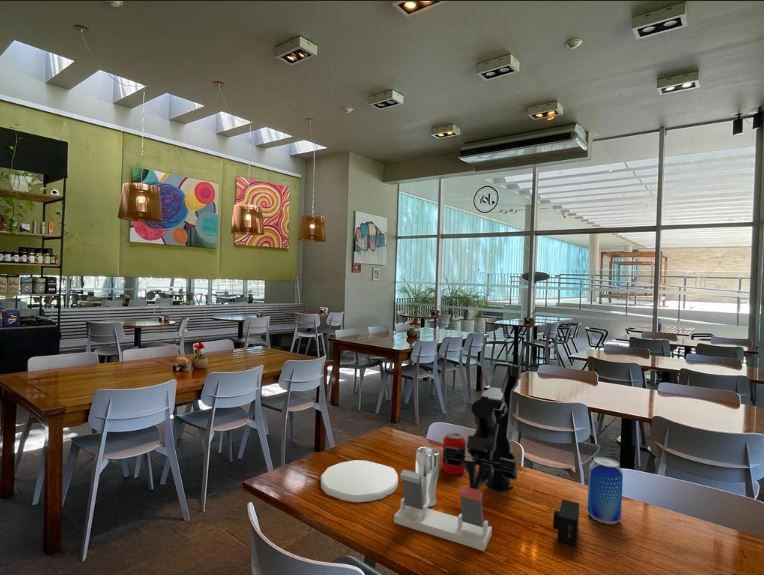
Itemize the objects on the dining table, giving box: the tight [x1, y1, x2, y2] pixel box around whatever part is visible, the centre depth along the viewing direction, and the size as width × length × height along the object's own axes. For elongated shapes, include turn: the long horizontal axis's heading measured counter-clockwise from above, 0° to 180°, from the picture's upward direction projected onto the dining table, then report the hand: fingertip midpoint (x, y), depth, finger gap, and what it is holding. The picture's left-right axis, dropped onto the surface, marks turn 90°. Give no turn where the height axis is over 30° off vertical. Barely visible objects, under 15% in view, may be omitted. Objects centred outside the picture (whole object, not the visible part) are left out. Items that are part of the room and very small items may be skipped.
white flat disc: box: [320, 459, 399, 503], centre depth 137 cm, size 25×4×25 cm
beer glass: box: [414, 446, 440, 508], centre depth 126 cm, size 7×7×15 cm
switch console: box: [393, 496, 493, 552], centre depth 113 cm, size 8×24×5 cm, turn 63°
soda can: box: [441, 432, 467, 476], centre depth 149 cm, size 8×8×12 cm
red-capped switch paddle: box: [458, 485, 484, 527], centre depth 107 cm, size 2×5×11 cm, turn 63°
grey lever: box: [400, 469, 424, 510], centre depth 115 cm, size 2×5×11 cm, turn 63°
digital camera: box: [552, 498, 580, 549], centre depth 112 cm, size 10×5×7 cm, turn 153°
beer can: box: [587, 456, 624, 525], centre depth 121 cm, size 8×8×16 cm
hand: (472, 494), depth 108 cm, fingers closed
